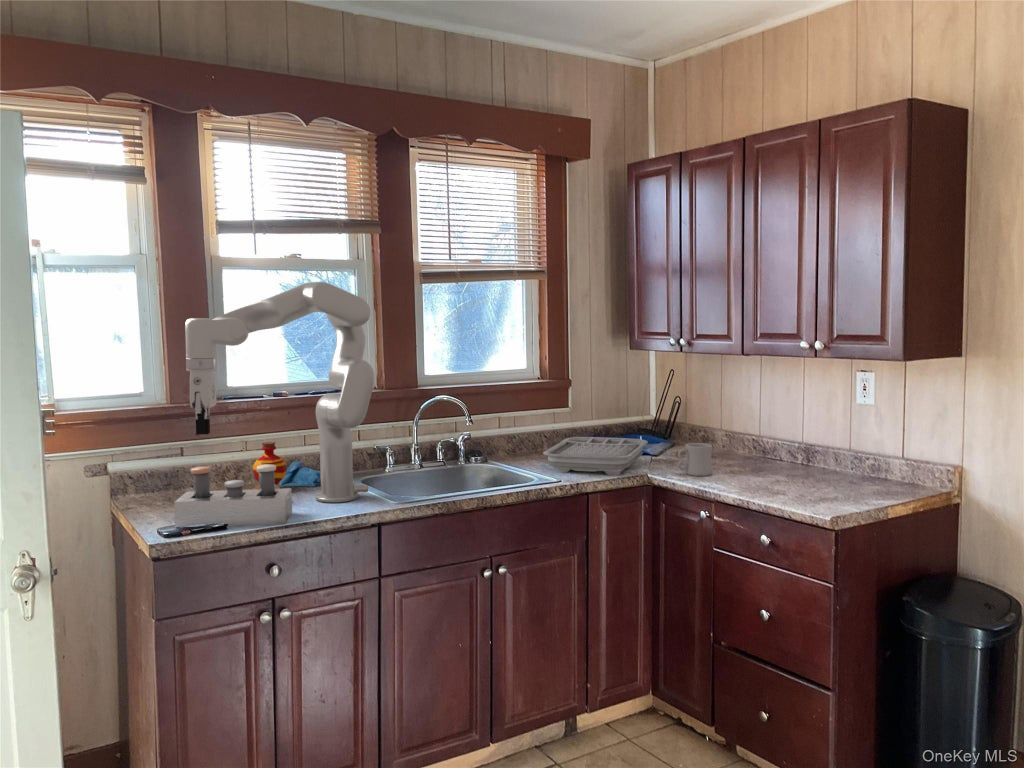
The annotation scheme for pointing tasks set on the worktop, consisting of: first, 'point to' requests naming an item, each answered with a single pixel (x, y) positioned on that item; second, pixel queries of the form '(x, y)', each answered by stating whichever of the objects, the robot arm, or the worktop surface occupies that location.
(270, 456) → the potion bottle
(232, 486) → the knob mid
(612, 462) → the dish rack
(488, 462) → the worktop surface
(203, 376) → the robot arm
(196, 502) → the mount
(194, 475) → the knob
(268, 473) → the knob
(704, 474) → the mug
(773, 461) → the worktop surface
